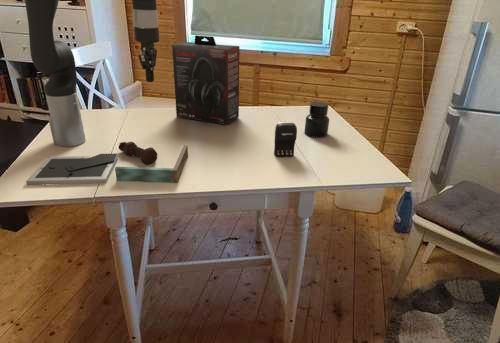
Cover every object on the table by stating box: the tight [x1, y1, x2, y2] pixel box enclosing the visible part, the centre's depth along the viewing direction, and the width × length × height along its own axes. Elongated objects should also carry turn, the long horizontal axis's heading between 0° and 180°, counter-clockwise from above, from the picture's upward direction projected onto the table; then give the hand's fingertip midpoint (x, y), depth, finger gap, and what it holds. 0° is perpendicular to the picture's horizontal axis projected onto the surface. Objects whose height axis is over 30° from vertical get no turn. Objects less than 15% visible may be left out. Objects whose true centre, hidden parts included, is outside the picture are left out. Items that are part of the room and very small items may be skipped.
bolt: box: [118, 141, 158, 166], centre depth 116 cm, size 6×5×15 cm
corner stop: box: [114, 144, 189, 184], centre depth 110 cm, size 17×18×4 cm
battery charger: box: [273, 121, 298, 158], centre depth 119 cm, size 7×4×11 cm, turn 95°
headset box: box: [171, 34, 241, 126], centre depth 148 cm, size 24×13×33 cm, turn 67°
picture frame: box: [25, 153, 119, 186], centre depth 107 cm, size 16×3×21 cm
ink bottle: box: [304, 101, 330, 138], centre depth 139 cm, size 10×9×12 cm
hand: (150, 81), depth 120 cm, fingers closed
